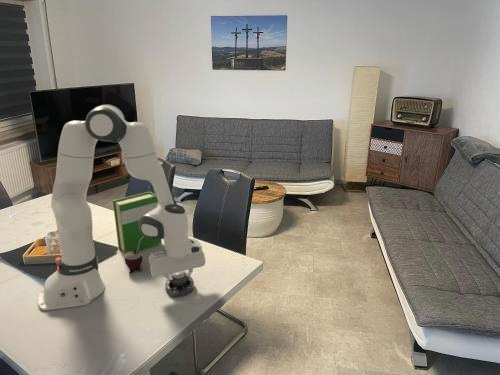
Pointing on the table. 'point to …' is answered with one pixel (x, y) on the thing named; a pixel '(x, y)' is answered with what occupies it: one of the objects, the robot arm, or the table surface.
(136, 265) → the mate gourd
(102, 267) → the table surface
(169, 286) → the grey ashtray
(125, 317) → the table surface
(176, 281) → the cap
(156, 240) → the hardback book
